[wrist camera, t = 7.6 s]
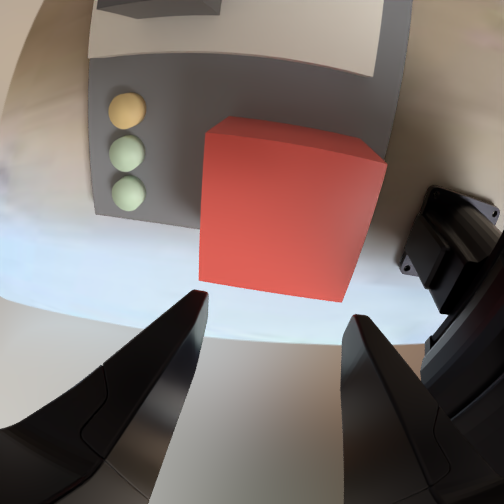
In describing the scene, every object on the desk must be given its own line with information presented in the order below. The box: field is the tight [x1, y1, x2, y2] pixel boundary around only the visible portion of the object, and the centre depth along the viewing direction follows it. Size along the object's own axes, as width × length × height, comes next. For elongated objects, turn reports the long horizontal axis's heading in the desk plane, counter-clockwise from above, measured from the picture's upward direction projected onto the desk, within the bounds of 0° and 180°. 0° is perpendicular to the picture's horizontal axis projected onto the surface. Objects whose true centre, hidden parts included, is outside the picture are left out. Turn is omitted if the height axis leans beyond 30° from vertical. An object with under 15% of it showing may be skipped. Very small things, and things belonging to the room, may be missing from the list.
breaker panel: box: [88, 0, 413, 229], centre depth 13 cm, size 17×19×3 cm
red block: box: [199, 116, 388, 303], centre depth 14 cm, size 7×7×5 cm
